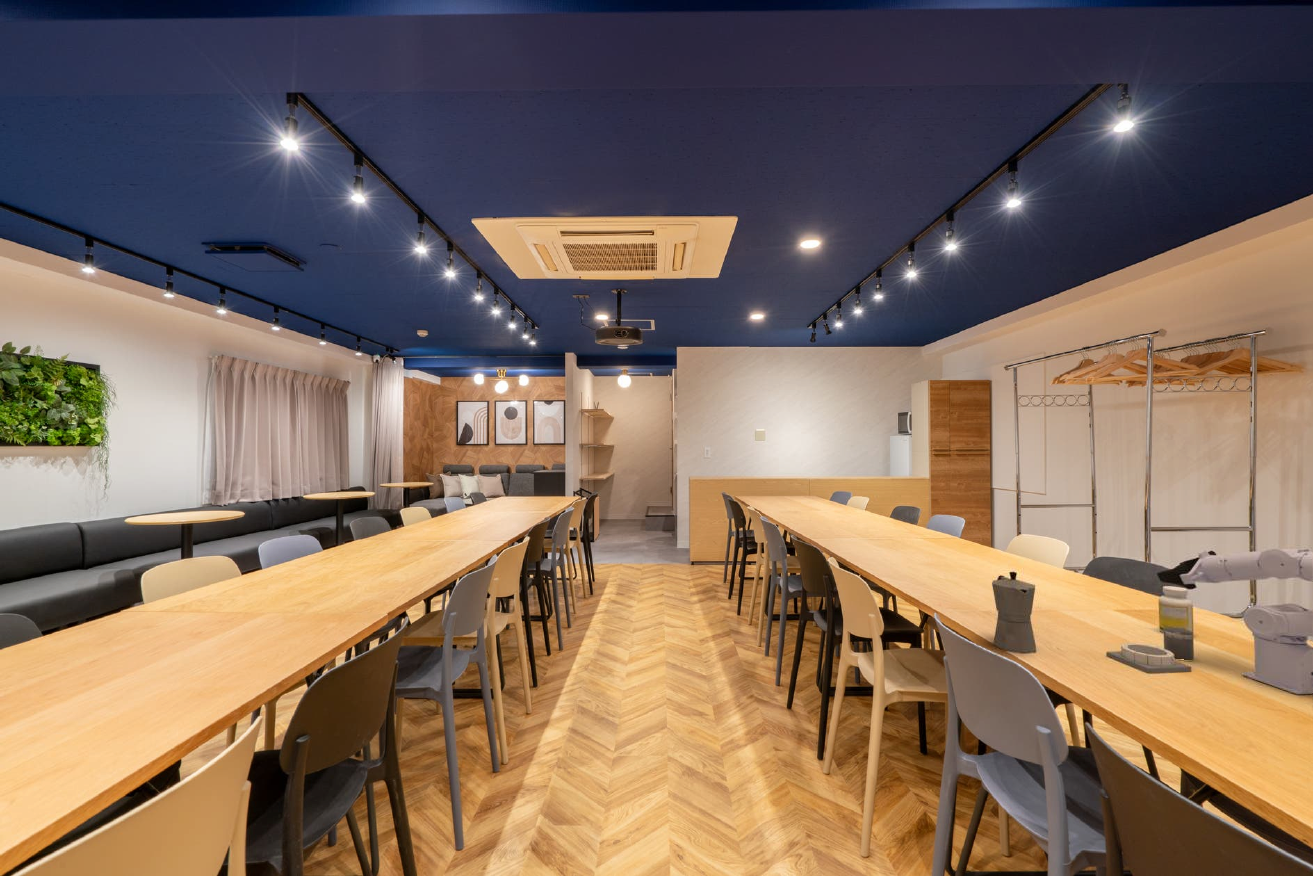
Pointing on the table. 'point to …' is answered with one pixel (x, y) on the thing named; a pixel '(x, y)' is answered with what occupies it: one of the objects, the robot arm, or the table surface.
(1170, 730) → the table surface
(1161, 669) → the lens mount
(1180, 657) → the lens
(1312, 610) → the robot arm
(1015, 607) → the coffeepot
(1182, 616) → the pill bottle
